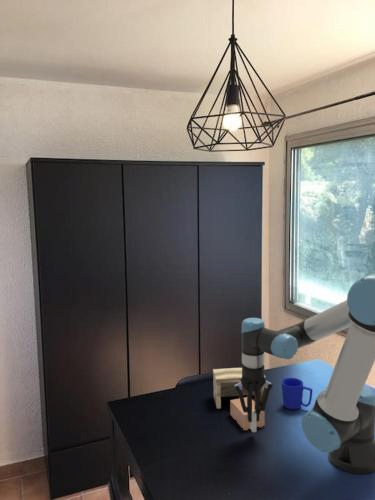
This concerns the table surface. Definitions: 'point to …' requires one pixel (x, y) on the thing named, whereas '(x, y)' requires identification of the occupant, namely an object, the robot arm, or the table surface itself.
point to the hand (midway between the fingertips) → (253, 429)
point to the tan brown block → (244, 414)
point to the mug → (294, 393)
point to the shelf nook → (228, 384)
